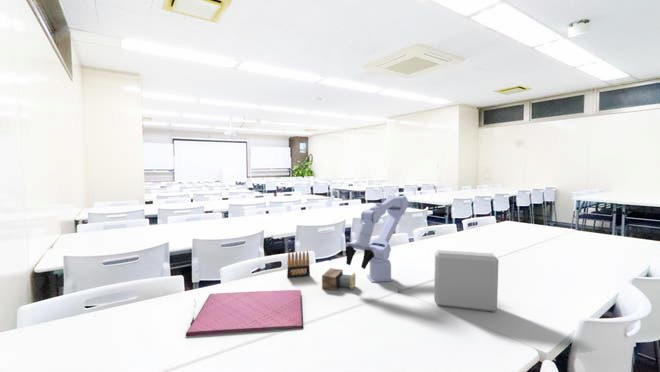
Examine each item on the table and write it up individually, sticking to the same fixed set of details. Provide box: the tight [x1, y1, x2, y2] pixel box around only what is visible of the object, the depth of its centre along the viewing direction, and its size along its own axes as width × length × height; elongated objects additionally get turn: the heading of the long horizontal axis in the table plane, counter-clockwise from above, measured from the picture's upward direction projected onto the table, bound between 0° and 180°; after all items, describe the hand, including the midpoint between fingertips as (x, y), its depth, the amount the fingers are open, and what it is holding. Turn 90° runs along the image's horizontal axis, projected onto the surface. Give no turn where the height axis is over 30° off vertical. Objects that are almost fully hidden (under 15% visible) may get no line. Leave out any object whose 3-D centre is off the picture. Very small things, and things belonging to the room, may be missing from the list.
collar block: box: [321, 268, 344, 291], centre depth 133 cm, size 6×10×6 cm, turn 160°
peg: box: [339, 273, 356, 290], centre depth 131 cm, size 8×5×5 cm, turn 70°
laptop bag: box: [185, 289, 304, 337], centre depth 109 cm, size 40×4×27 cm
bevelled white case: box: [433, 249, 499, 312], centre depth 113 cm, size 21×8×20 cm, turn 74°
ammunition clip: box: [286, 250, 311, 279], centre depth 144 cm, size 11×2×12 cm, turn 103°
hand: (355, 266), depth 127 cm, fingers open, 7 cm apart
